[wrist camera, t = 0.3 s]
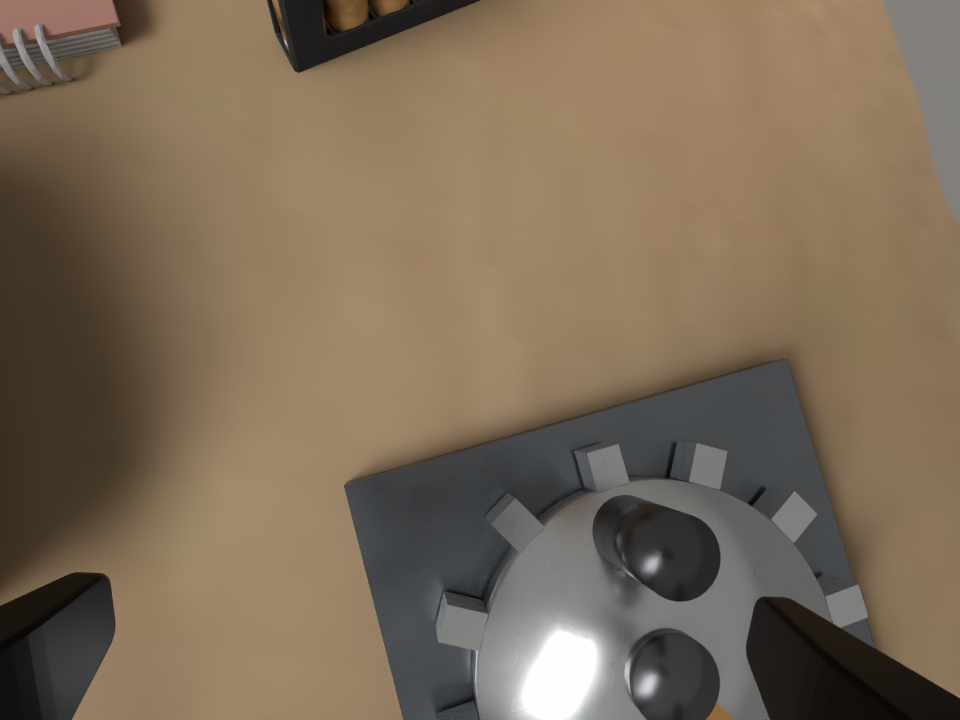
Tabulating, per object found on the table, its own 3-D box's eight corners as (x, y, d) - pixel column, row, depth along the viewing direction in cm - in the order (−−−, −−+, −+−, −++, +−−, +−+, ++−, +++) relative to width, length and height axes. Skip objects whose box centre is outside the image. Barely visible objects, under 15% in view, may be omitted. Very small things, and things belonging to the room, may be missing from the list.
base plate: (901, 792, 23) (923, 809, 22) (472, 979, 21) (476, 1007, 20) (770, 361, 25) (786, 358, 24) (346, 482, 22) (343, 485, 21)
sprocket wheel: (895, 793, 22) (1055, 915, 17) (500, 965, 20) (538, 1173, 14) (773, 392, 23) (888, 383, 18) (382, 507, 21) (375, 539, 15)
